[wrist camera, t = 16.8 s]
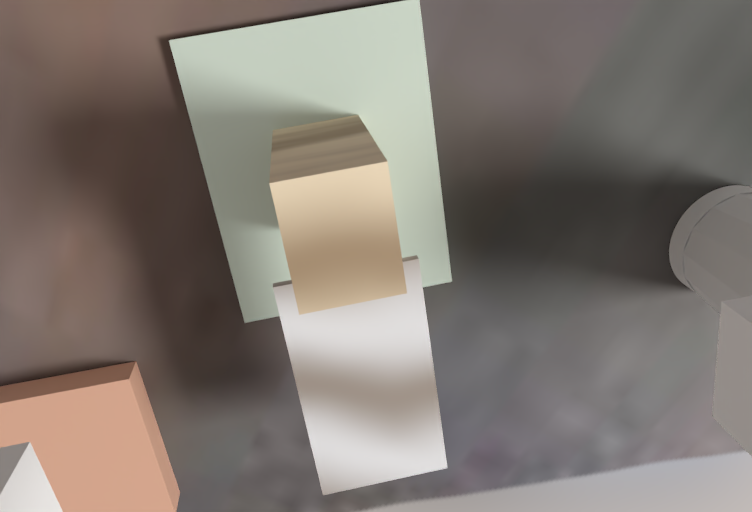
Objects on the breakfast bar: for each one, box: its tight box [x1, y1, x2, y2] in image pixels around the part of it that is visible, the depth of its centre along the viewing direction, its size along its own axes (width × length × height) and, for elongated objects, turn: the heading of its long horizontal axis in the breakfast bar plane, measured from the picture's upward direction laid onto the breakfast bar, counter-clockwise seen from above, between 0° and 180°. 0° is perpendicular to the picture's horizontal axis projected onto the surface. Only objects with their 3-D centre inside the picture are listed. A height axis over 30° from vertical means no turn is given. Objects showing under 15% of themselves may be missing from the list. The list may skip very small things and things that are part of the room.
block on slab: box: [269, 115, 447, 495], centre depth 28 cm, size 16×6×9 cm, turn 8°
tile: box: [0, 361, 180, 512], centre depth 34 cm, size 2×9×9 cm
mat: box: [169, 0, 452, 323], centre depth 31 cm, size 14×11×1 cm
